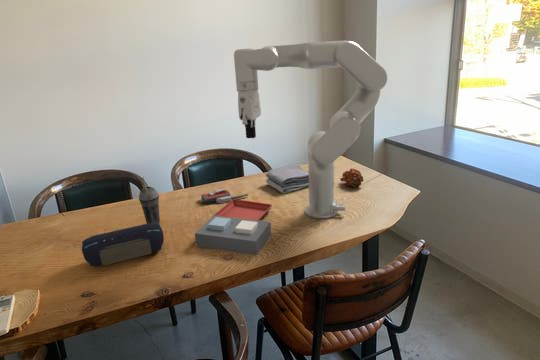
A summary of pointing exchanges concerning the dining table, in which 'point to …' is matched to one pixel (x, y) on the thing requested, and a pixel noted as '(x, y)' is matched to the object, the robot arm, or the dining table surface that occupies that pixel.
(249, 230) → the white key
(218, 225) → the blue key
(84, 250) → the portable speaker
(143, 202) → the beverage cup
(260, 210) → the plant saucer
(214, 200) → the walkie-talkie
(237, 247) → the console
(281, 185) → the towel
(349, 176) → the pine cone
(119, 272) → the dining table surface
